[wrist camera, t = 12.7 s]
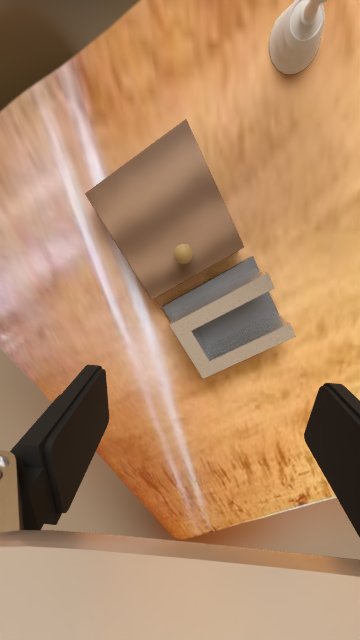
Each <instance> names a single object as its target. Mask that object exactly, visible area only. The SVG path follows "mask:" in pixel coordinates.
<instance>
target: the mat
mask: <svg viewBox="0 0 360 640" xmlns="http://www.w3.org/2000/svg"><path fill="white" fill-rule="evenodd" d="M254 269H258V266H257V264H256V262H255V260H254V257H250V258H248V259H246V260H245V261H243V262H241V263H239V264H237V265H236V266H234V267H232V268H230V269H228V270H227V271H225V272H223V273H221V274H219V275H218V276H216V277H214V278H212V279H210V280H209V281H207V282H205V283H203V284H201V285H199V286H198V287H196V288H194V289H192V290H190V291H189V292H187V293H185V294H183V295H181V296H180V297H178V298H176V299H174V300H172V301H171V302H169V303H167V304H165V305H163V306H162V308H163V310H164V311H165V313H166V315H167V316H168V318H169V319H170V320H171V315H172V313H174V312H176V311H178V310H180V309H182V308H184V307H185V306H187V305H189V304H191V303H193V302H195V301H197V300H198V299H200V298H202V297H204V296H206V295H208V294H209V293H211V292H213V291H215V290H217V289H219V288H221V287H222V286H224V285H226V284H228V283H230V282H232V281H234V280H235V279H237V278H239V277H241V276H243V275H245V274H247V273H248V272H250V271H252V270H254ZM275 312H276V313H277V314H279V313H278V311H277V309H276V307H275V304H274V302H273V300H272V298H271V296H270V293H269V291H268V292H266V293H264V294H262V295H260V296H258V297H256V298H254V299H252V300H250V301H248V302H247V303H245V304H243V305H241V306H239V307H237V308H235V309H233V310H231V311H229V312H227V313H225V314H223V315H221V316H219V317H217V318H215V319H213V320H211V321H209V322H207V323H205V324H204V325H202V326H200V327H198V328H196V329H197V331H198V332H199V334H200V336H201V337H202V339H203V341H204V342H205V344H206V346H208V345H210V344H212V343H214V342H216V341H218V340H220V339H222V338H224V337H226V336H228V335H230V334H232V333H234V332H236V331H238V330H240V329H242V328H244V327H247V326H249V325H251V324H253V323H255V322H257V321H259V320H261V319H263V318H265V317H267V316H269V315H271V314H273V313H275Z"/></svg>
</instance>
